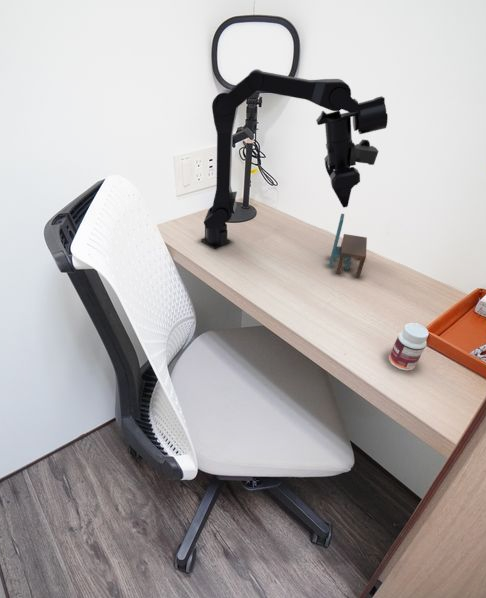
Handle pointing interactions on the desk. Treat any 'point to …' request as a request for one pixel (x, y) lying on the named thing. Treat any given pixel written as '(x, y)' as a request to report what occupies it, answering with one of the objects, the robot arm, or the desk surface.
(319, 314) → the desk surface
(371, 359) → the desk surface
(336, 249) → the chair
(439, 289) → the desk surface
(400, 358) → the pill bottle
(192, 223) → the desk surface
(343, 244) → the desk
